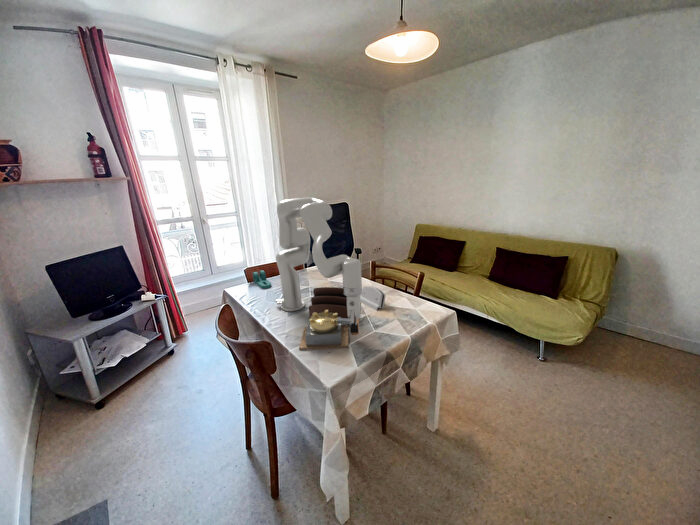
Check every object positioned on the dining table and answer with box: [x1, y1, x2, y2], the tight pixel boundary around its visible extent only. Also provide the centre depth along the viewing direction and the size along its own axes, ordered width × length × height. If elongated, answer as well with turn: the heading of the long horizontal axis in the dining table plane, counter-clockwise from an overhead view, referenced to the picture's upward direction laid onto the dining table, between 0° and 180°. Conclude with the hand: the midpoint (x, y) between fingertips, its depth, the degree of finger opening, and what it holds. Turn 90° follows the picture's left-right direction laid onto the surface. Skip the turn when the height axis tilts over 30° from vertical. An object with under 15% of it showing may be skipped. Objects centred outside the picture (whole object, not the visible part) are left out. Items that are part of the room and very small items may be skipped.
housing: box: [298, 317, 350, 350], centre depth 119 cm, size 20×16×6 cm
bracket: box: [252, 269, 272, 290], centre depth 183 cm, size 18×7×8 cm, turn 36°
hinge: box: [360, 285, 386, 311], centre depth 149 cm, size 17×5×10 cm, turn 36°
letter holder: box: [308, 286, 349, 319], centre depth 136 cm, size 10×20×14 cm, turn 79°
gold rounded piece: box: [308, 310, 360, 336], centre depth 117 cm, size 21×12×8 cm, turn 82°
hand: (354, 329), depth 116 cm, fingers closed on gold rounded piece, 3 cm apart
